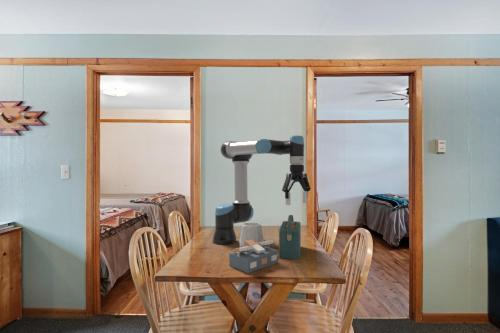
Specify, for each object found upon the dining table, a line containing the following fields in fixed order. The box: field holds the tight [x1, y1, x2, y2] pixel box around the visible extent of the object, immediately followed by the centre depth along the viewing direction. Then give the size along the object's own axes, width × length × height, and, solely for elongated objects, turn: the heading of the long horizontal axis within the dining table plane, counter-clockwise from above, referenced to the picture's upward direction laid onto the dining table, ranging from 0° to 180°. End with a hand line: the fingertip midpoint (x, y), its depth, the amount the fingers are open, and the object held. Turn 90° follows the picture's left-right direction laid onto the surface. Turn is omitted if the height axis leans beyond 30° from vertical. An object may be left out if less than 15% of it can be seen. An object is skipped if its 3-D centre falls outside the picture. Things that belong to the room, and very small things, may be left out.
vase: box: [238, 222, 265, 247], centre depth 151 cm, size 14×14×15 cm
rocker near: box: [232, 245, 254, 253], centre depth 126 cm, size 10×5×2 cm, turn 44°
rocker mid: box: [244, 240, 265, 254], centre depth 130 cm, size 10×5×2 cm, turn 44°
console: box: [228, 244, 279, 274], centre depth 130 cm, size 13×21×8 cm, turn 134°
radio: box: [278, 214, 302, 260], centre depth 150 cm, size 26×11×20 cm, turn 168°
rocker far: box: [257, 239, 274, 247], centre depth 135 cm, size 10×5×2 cm, turn 44°
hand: (296, 203), depth 145 cm, fingers open, 13 cm apart
